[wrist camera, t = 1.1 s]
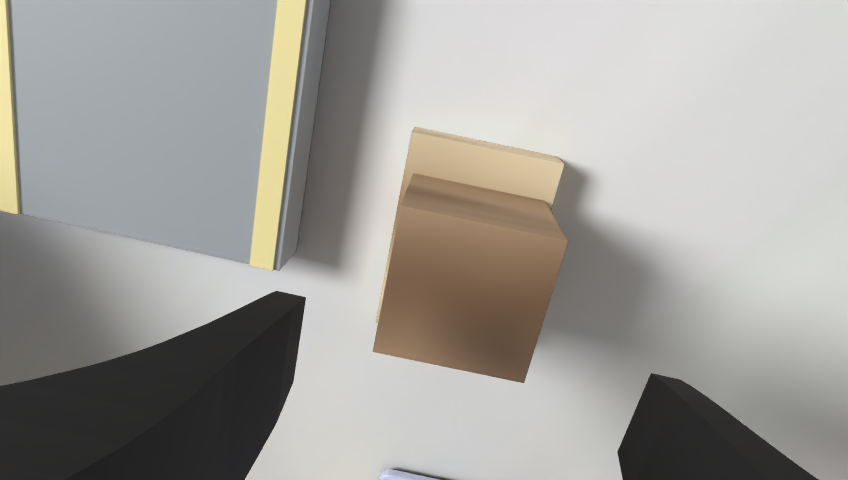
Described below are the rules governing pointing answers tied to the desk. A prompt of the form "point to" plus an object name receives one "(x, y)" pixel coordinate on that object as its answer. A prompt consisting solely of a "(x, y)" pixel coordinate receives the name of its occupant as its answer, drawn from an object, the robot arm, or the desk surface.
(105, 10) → the dock
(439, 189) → the tan cardboard carton
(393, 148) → the desk surface
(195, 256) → the desk surface
